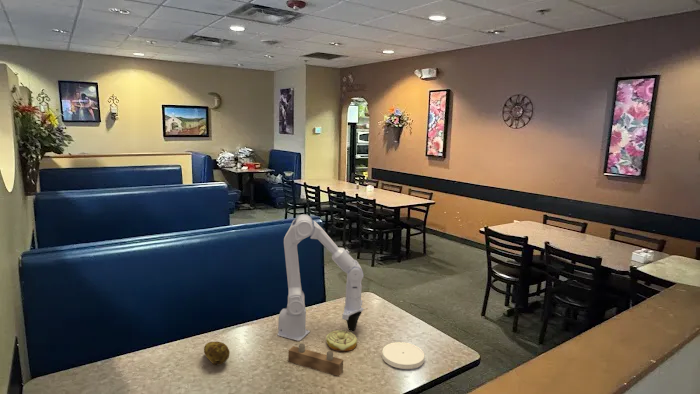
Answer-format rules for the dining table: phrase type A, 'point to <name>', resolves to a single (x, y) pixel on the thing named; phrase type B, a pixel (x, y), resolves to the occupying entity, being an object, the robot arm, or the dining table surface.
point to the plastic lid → (403, 355)
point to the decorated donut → (341, 340)
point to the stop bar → (315, 360)
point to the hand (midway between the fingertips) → (351, 330)
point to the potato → (216, 352)
